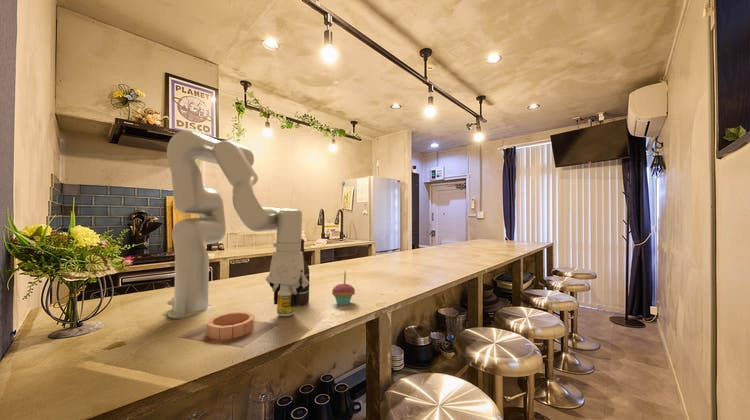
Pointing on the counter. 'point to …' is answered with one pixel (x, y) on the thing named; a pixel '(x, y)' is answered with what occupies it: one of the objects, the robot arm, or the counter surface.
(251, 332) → the grey flat pad
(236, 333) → the terracotta holder
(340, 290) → the cupcake
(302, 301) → the beer bottle
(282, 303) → the supplement bottle
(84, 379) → the counter surface
